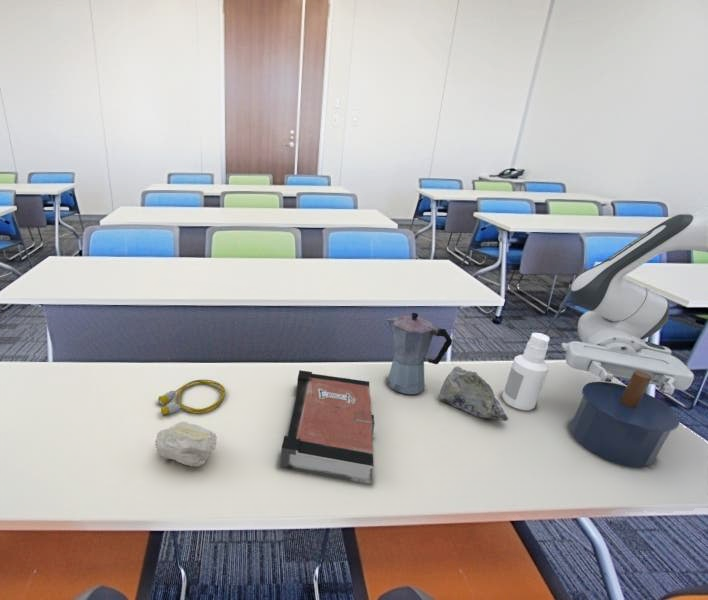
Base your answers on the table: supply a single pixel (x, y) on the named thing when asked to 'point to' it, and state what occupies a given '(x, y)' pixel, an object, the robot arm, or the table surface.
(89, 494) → the table surface
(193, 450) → the white rock
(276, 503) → the table surface
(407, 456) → the table surface
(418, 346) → the moka pot
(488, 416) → the mineral rock
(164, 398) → the extension cord
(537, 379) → the spray bottle
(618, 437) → the pot
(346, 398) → the book
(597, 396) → the lid
